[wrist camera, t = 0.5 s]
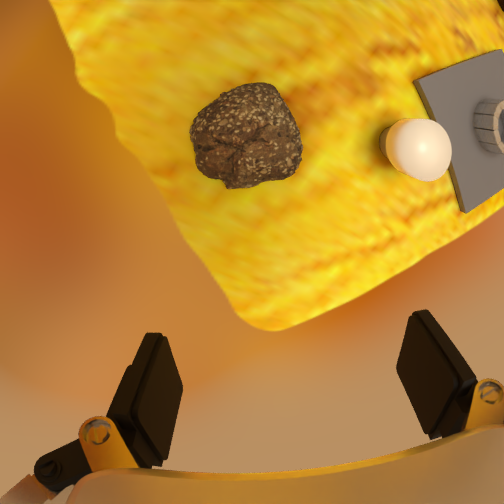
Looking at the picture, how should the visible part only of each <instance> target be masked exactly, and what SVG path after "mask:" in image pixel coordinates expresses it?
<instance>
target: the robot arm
mask: <svg viewBox="0 0 504 504" xmlns="http://www.w3.org/2000/svg"><path fill="white" fill-rule="evenodd" d="M396 369H397V373H398V375H399V378H400V380H401V382H402V384H403V386H404V388H405V391H406V393H407V395H408V397H409V399H410V402H411V404H412V406H413V408H414V411H415V413H416V415H417V418H418V420H419V422H420V424H421V427H422V429H423V432H424V433H425V434H428V435H429V438H430V440H432V439H435V438H438V437H441V436H442V439H439V440H436V441H433V442H430V443H427V444H424V445H420V446H417V447H413V448H410V449H407V450H403V451H399V452H396V453H392V454H388V455H384V456H380V457H376V458H371V459H367V460H361V461H356V462H351V463H346V464H340V465H334V466H327V467H320V468H312V469H304V470H294V471H281V472H265V473H203V472H185V471H172V470H160V469H152V466H160V467H162V463H163V460H167V459H168V455H169V450H170V445H171V441H172V437H173V432H174V427H175V423H176V419H177V414H178V409H179V405H180V401H181V396H182V392H183V385H182V381H181V378H180V376H179V373H178V370H177V367H176V364H175V361H174V358H173V355H172V352H171V348H170V345H169V342H168V339H167V337H165V336H163V335H162V334H161V333H146V334H145V336H144V338H143V341H142V343H141V345H140V347H139V349H138V351H137V354H136V356H135V358H134V360H133V363H132V365H129V366H128V367H127V369H126V371H125V373H124V375H123V377H122V380H121V382H120V384H119V386H118V389H117V391H116V394H115V396H114V398H113V401H112V403H111V405H110V408H109V410H108V413H107V415H106V417H104V416H95V417H92V418H89V419H88V420H86V421H85V422H84V423H83V424H82V425H81V427H80V429H79V433H78V435H79V439H77V440H75V441H73V442H71V443H69V444H66V445H64V446H62V447H60V448H58V449H56V450H54V451H52V452H50V453H47V454H45V455H43V456H42V457H40V458H39V459H38V460H37V462H36V464H35V466H34V474H33V475H32V476H31V475H30V474H28V475H27V476H26V477H25V478H23V479H22V480H21V481H20V482H19V483H17V484H16V485H15V486H14V487H13V488H12V489H10V490H9V491H8V492H7V493H6V494H5V495H3V496H2V498H1V499H0V504H504V386H503V385H502V384H501V383H500V382H499V381H497V380H494V379H489V378H487V379H483V380H481V381H479V382H478V381H477V379H476V376H475V374H474V373H473V371H472V370H471V368H470V367H469V365H468V364H467V363H466V361H465V359H464V358H463V357H462V355H461V354H460V352H459V351H458V349H457V348H456V347H455V345H454V344H453V342H452V341H451V340H450V338H449V337H448V336H447V334H446V333H445V332H444V330H443V329H442V328H441V326H440V325H439V324H438V322H437V321H436V320H435V318H434V317H433V316H432V314H431V313H430V312H429V311H428V310H420V311H415V312H413V313H412V316H410V317H409V319H408V323H407V327H406V331H405V335H404V339H403V343H402V347H401V351H400V355H399V358H398V361H397V366H396Z"/></svg>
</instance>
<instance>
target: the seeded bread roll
mask: <svg viewBox="0 0 504 504" xmlns="http://www.w3.org/2000/svg"><path fill="white" fill-rule="evenodd" d="M283 100H284V99H283V98H281V96H280V93H278V91H277V90H276V88H275V87H274V86H273V85H271V84H267V83H251V84H244V85H242V86H238V87H236V88H235V89H231V91H229V92H223V93H222V94H220V97H219V98H218V99H216V100H214V101H213V102H212V103H210V104H209V105H208V106H206V107H205V108H204V109H202V111H200V112H199V113H198V116H197V117H196V118H195V119H194V120H193V121H194V124H193V125H192V126H191V129H190V134H191V137H190V138H191V141H192V142H193V145H194V151H195V153H196V159H195V160H196V165H197V168H198V169H199V170H200V171H201V172H202V173H203V175H206V176H207V177H208V178H213V179H220V180H223V182H224V183H225V184H226V188H227V189H231V188H232V189H235V188H250V187H253V186H256V185H258V184H259V183H261V182H265V181H269V180H272V181H274V180H283V179H285V178H287V177H290V176H292V175H293V174H294V173H295V170H297V169H298V167H299V164H300V162H301V160H302V158H301V153H302V150H303V145H302V144H301V139H300V132H299V128H298V127H297V125H296V122H295V120H294V117H293V116H292V114H291V112H290V110H289V108H288V107H287V105H286V103H285V102H284V101H283Z"/></svg>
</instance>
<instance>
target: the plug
mask: <svg viewBox="0 0 504 504" xmlns="http://www.w3.org/2000/svg"><path fill="white" fill-rule="evenodd" d="M379 146H380V149H381V152H382V153H383V154H384V156H385V157H387V158H388V159H389V161H390V162H391V164H392V165H393V166H394V167H395V168H396V169H397V170H398V171H400V172H402V173H404V174H407V175H409V176H412V177H414V178H417V179H419V180H422V181H433V180H436V179H438V178H440V177H441V176H442V175H443V174H444V173H445V172H446V170H447V168H448V167H449V164H450V161H451V155H452V148H451V142H450V139H449V136H448V134H447V133H446V131H445V130H444V128H443V127H442V126H441V125H440V124H438V123H437V122H435V121H433V120H429V119H402V120H399V121H397V122H396V123H395V124H394V125H393V126H392V127H388V128H386V129H385V130H384V131H383V132H382V134H381V136H380V139H379Z"/></svg>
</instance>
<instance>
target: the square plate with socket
mask: <svg viewBox="0 0 504 504" xmlns="http://www.w3.org/2000/svg"><path fill="white" fill-rule="evenodd" d="M413 83H414V85H415V87H416V89H417V91H418V93H419V95H420V97H421V99H422V102H423V104H424V106H425V108H426V111H427V113H428V115H429V118H430V120H433V121H435V122H437V123H438V124H440V125H441V126H442V127H443V128H444V130H445V131H446V133H447V134H448V136H449V139H450V142H451V148H452V155H451V161H450V164H449V167H448V169H449V172H450V175H451V178H452V182H453V185H454V188H455V192H456V195H457V199H458V203H459V207H460V211H462V212H464V213H468V212H469V211H471V210H472V209H474V208H475V207H477V206H478V205H480V204H481V203H483V202H484V201H486V200H487V199H489V198H490V197H492V196H493V195H494V194H496V193H497V192H499V191H500V190H502V189H503V188H504V53H503V51H502V49H498V50H494V51H491V52H488V53H485V54H482V55H479V56H476V57H473V58H471V59H468V60H465V61H462V62H460V63H457V64H454V65H452V66H449V67H447V68H444V69H441V70H439V71H436V72H434V73H431V74H429V75H427V76H424V77H422V78H419V79H417V80H415V81H413Z"/></svg>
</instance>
